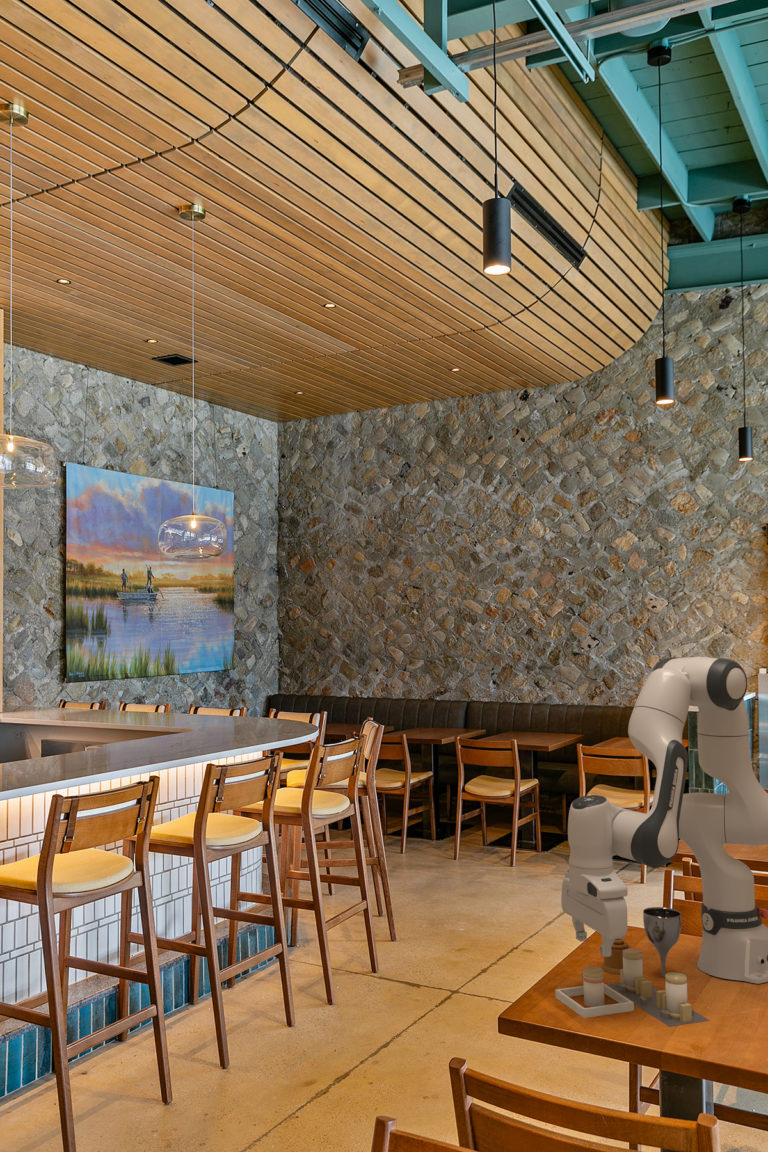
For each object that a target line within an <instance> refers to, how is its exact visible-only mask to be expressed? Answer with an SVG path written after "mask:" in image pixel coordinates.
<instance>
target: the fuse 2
mask: <svg viewBox="0 0 768 1152" xmlns="http://www.w3.org/2000/svg"><path fill="white" fill-rule="evenodd" d="M664 978H665V979H664V982H665V990H666V1012H668V1013H670V1018H672V1019H677V1020H680V1006H679V1005H680V1004H687V1003H688V977H687V974H684V973H681V972H675V971H674V972H673V971H670V972H665V977H664Z"/></svg>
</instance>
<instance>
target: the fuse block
mask: <svg viewBox="0 0 768 1152" xmlns="http://www.w3.org/2000/svg"><path fill="white" fill-rule="evenodd" d="M619 979H620V981H619V982H615V983H607V984H606V983H605V984H606V985H607V986H609V987H610V988H612V989H613V990H615V991H617V992H618V993H620V994H621V995H623V996H624V997H626V998H628V999H629V1000H631V1001H632V1002H634V1006H636V1007H638V1008H639V1009H641V1010H643V1011H644V1012H645V1013H648V1014H649V1015H651V1016H652V1017H653V1018H655V1019H656V1020H658V1021H659V1022H660V1023H661V1022H662V1023H663V1024H665V1025H666V1026H668V1027H671V1028H672V1027H677V1026H683V1025H690V1024H698V1023H704V1022H710V1020H711V1019H708V1018H707V1017H705V1016H703V1015H701V1014H700V1013H698V1012H696V1011H695V1010H694V1009H693V1008H692V1004H690V1003H689V1002H687V1004H680V1005H679V1006H680V1020H677V1019H672V1018H670V1013H668V1012H666V989H660V990H659V989H658V988H656V987H654V986H653V983H652V981H651V980H647V978H645V977H644V976H643V977H641V978H635V992H629V991H626V986H624V985H623V969H620V975H619Z"/></svg>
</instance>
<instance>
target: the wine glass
mask: <svg viewBox="0 0 768 1152" xmlns="http://www.w3.org/2000/svg"><path fill="white" fill-rule="evenodd" d="M642 919H643V920H642V921H643V927H644V928H643V929H644V932H645V936H646V938H647V940H648V941H649V943H650V945H652V946H653V948H655V950H656V951H657V954H658V955H659V959H660V965H661V977H663V978H665V974H666V963H667V957H668V954H669V953H670V950H672V949H673V947H674V946H675V945H676V944H677V943H678V941H679V939H680V935H681V932H682V931H681V930H682V929H681V928H682V912H680V911H679V910H677V909H674V908H670V907H664V906H663V907H662V906H652V907H647V908H645V909H643V910H642Z"/></svg>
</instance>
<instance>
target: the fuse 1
mask: <svg viewBox="0 0 768 1152" xmlns="http://www.w3.org/2000/svg"><path fill="white" fill-rule="evenodd" d="M643 958H644V957H643V951H641V950H640V949H637V948H636V949H635V948H631V949H625V950H623V985H624V986H626V991H629V992H635V978H641V977H644V969H643V967H644V965H643V962H644V960H643Z"/></svg>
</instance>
